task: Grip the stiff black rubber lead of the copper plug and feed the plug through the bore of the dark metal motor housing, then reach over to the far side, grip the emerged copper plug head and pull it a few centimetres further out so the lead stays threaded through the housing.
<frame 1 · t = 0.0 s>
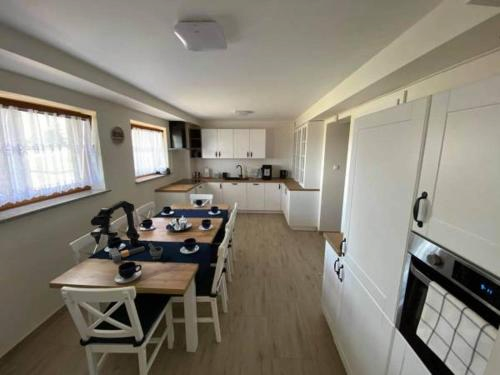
hand: (103, 245, 159), 15 cm above the table, tool pointing down, fingers open, 9 cm apart
plug: (125, 255, 174), on the table
housing: (115, 258, 170), on the table
mortar and pestle: (156, 257, 172), on the table
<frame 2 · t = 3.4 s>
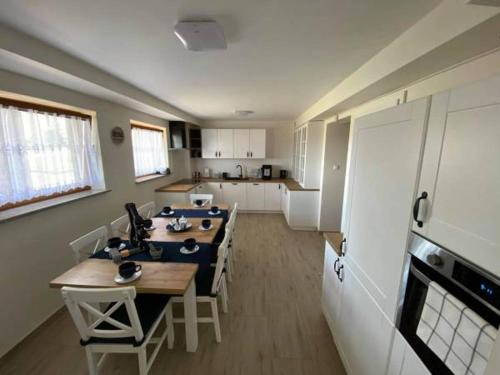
hand: (141, 249, 183), 1 cm above the table, tool pointing down, fingers closed on plug, 3 cm apart
plug: (125, 255, 174), on the table, touching gripper
everything else where it was.
when the fingers open (1 cm above the table, at t = 7.4 s): plug stays where it is, on the table.
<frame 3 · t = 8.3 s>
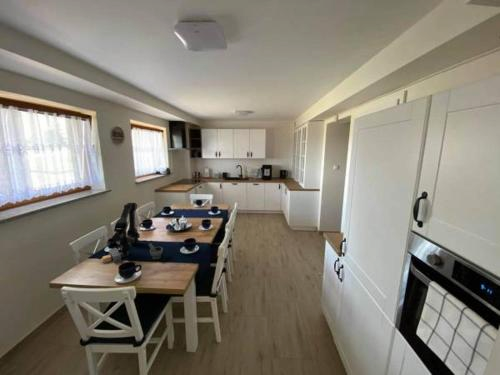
hand: (124, 253, 174), 2 cm above the table, tool pointing down, fingers open, 9 cm apart
plug: (107, 260, 166), on the table
everything else where it was.
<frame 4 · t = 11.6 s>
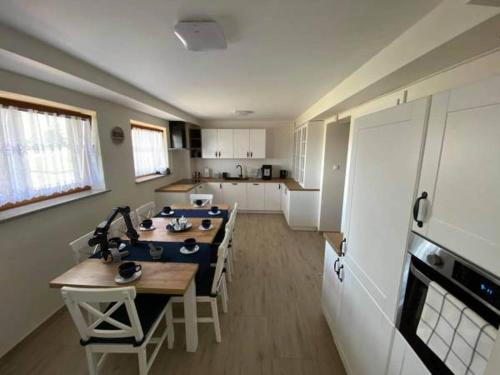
hand: (105, 259, 165), 1 cm above the table, tool pointing down, fingers closed on plug, 4 cm apart
plug: (107, 260, 166), on the table, touching gripper
everything else where it was.
when the fingers open (2 cm above the table, at t = 13.7 s): plug stays where it is, on the table.
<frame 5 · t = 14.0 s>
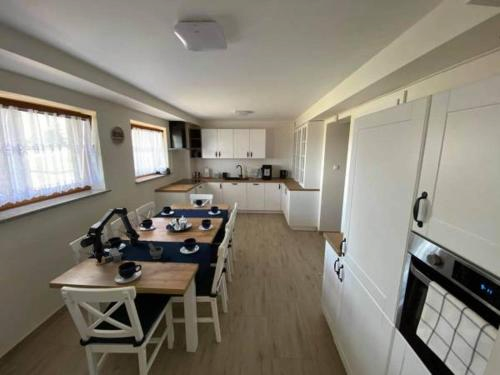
hand: (99, 260, 162), 2 cm above the table, tool pointing down, fingers open, 7 cm apart
plug: (100, 262, 163), on the table
everything else where it was.
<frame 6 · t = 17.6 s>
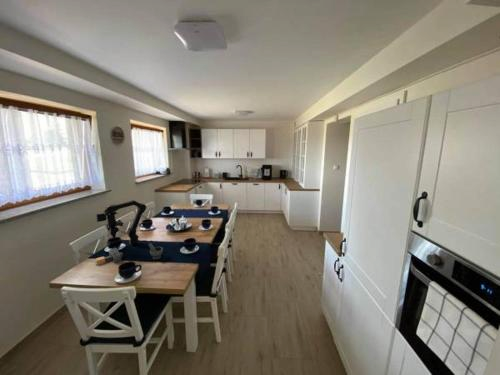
hand: (113, 236, 182), 12 cm above the table, tool pointing down, fingers open, 9 cm apart
nothing on the table moved.
at the end: plug 1.1 cm from the target spot on the table beside the housing, on the table; the gripper is holding nothing; plug moved 16.7 cm from its start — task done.
